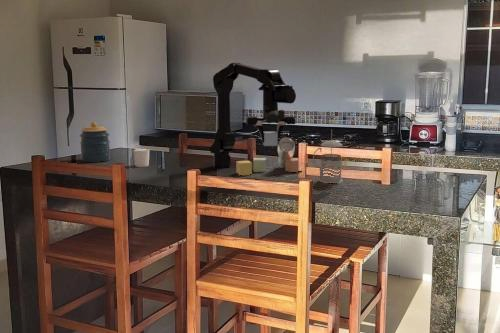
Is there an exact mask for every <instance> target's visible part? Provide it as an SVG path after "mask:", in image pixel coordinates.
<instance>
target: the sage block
mask: <svg viewBox="0 0 500 333" xmlns="http://www.w3.org/2000/svg"><path fill="white" fill-rule="evenodd" d="M266 161H267V158H266V157H253V162H252V173H266V172H267V171H266V170H267V168H266V166H267V162H266Z"/></svg>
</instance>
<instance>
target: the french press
mask: <svg viewBox="0 0 500 333" xmlns="http://www.w3.org/2000/svg"><path fill="white" fill-rule="evenodd" d="M335 116H336V115H335V114H329V118H331V119H333V118H336V117H335ZM341 147H343V144H342V143H341V142H339V141H337V140H334V139H333V130H331V136H330V140H326V141H324V142H321V144H320V147H319V148H317V149H316V150H314V151H313V152H314V153H313V156H312V161H313V164H314V166H315V167H317V168H319V178H318V179H317V180H318V181H320V182H324V183H323V184H327V183H337V184H342V183H341V182H343V181H344V180H343V179H342V164H343V163H342V161H343V159H341V158H340V157H342V155H341V154H337V153H335V154H334V153H332V152H333V150H332V149H333V148H341ZM322 148H330V153H324V154H321V157H322V158H321V159H320V165H318V164H317V163H316V160H315V154H316V152H317V151H319V150H320V153H321V152H322V151H323V150H322ZM323 169H324V170H323ZM329 169H332V170H334V171H336V172H334V171H332V170H329ZM338 170H340V171H338ZM323 171H325V172H324V173H323ZM326 172H327V173H326ZM328 172H331V173H333V174H335V175H333V174H331V173H328ZM339 173H340V174H339ZM324 174H328V175H331V176H334V177H330V176H323V175H324ZM338 174H339V175H338ZM318 181H317V182H318ZM320 182H319V183H320ZM343 183H344V182H343Z"/></svg>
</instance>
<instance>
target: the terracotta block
mask: <svg viewBox="0 0 500 333" xmlns="http://www.w3.org/2000/svg"><path fill="white" fill-rule="evenodd" d="M298 159H299V158H297V157H292V158H290V159H286V168H285V171H286V172H287V171H289V172H288V173H290V172H296V173H299V172H298Z"/></svg>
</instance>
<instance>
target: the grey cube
mask: <svg viewBox="0 0 500 333" xmlns="http://www.w3.org/2000/svg"><path fill="white" fill-rule="evenodd" d="M263 133H264V143H263V142H262V145H263V146H264V147H278V144H279V140H278V133H277V130H276V131H263Z"/></svg>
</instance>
